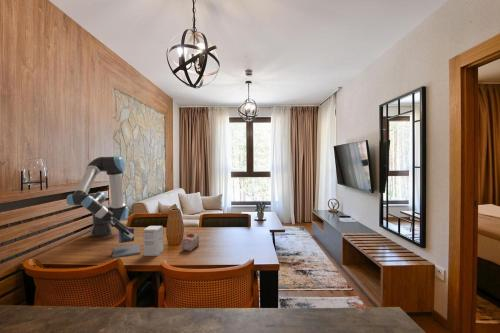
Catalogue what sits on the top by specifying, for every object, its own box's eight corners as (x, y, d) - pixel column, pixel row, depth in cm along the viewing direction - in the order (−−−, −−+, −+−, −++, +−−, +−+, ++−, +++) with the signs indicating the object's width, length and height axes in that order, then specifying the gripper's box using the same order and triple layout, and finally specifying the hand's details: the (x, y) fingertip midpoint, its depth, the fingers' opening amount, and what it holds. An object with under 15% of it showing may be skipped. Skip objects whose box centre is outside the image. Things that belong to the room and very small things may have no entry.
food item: (191, 252, 169) (191, 237, 169) (180, 251, 171) (180, 236, 171) (200, 245, 182) (199, 231, 182) (189, 244, 184) (189, 231, 184)
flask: (118, 243, 172) (118, 227, 172) (118, 242, 175) (118, 226, 174) (134, 241, 176) (133, 225, 176) (133, 240, 179) (133, 224, 179)
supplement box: (149, 250, 173) (149, 225, 172) (163, 250, 173) (163, 225, 172) (143, 256, 163) (142, 229, 163) (158, 255, 163) (157, 229, 163)
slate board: (114, 249, 177) (114, 247, 177) (139, 245, 184) (139, 243, 184) (112, 257, 161) (112, 256, 161) (140, 253, 167) (140, 251, 167)
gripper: (101, 216, 176) (128, 237, 183) (98, 221, 161) (128, 244, 169) (109, 208, 178) (136, 229, 185) (107, 212, 164) (137, 234, 171)
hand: (132, 236), depth 177 cm, fingers closed on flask, 3 cm apart
